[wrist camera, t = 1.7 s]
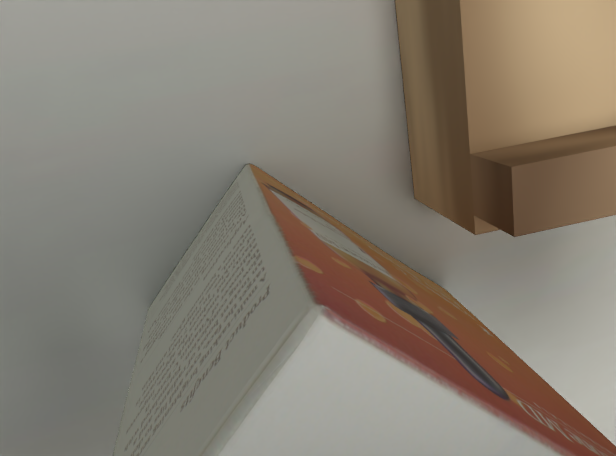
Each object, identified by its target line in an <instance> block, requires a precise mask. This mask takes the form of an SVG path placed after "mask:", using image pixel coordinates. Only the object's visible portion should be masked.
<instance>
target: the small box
mask: <svg viewBox="0 0 616 456" xmlns="http://www.w3.org/2000/svg"><path fill="white" fill-rule="evenodd" d="M113 456H616V446H615V445H613V444H612V443H611V442H610V441H609V440H608V439H607V438H606V437H605V436H604V435H603V434H602V433H601V432H599V431H598V430H597V429H596V428H595V427H594V426H593V425H592V424H591V423H590V422H589V421H588V420H587V419H585V418H584V417H583V416H582V415H581V414H580V413H579V412H578V411H577V410H576V409H575V408H574V407H572V406H571V405H570V404H569V403H568V402H567V401H566V400H565V399H564V398H563V397H562V396H561V395H559V394H558V393H557V392H556V391H555V390H554V389H553V388H552V387H551V386H550V385H549V384H548V383H547V382H546V381H544V380H543V379H542V378H541V377H540V376H539V375H538V374H537V373H536V372H535V371H534V370H532V369H531V368H530V367H529V366H528V365H527V364H526V363H525V362H524V361H523V360H521V359H520V358H519V357H518V356H517V355H516V354H515V353H514V352H513V351H512V350H511V349H510V348H509V347H507V346H506V345H505V344H504V343H503V342H502V341H501V340H500V339H499V338H498V337H497V336H496V335H494V334H493V333H492V332H491V331H490V330H489V329H488V328H487V327H486V326H485V325H483V324H482V323H481V322H480V321H479V320H478V319H477V318H476V317H475V316H474V315H473V314H472V313H471V312H469V311H468V310H467V309H466V308H465V307H464V306H463V305H462V304H461V303H459V302H458V301H457V300H456V299H455V298H454V297H453V296H452V295H451V294H450V293H449V292H448V291H446V290H445V289H444V288H442V287H441V286H439V285H437V284H435V283H434V282H432V281H431V280H429V279H428V278H426V277H424V276H422V275H421V274H419V273H417V272H416V271H414V270H412V269H411V268H409V267H407V266H406V265H404V264H403V263H401V262H399V261H398V260H396V259H395V258H393V257H392V256H390V255H389V254H387V253H385V252H384V251H382V250H381V249H379V248H378V247H376V246H375V245H373V244H372V243H370V242H369V241H367V240H366V239H364V238H363V237H361V236H360V235H358V234H357V233H355V232H354V231H352V230H351V229H349V228H348V227H346V226H345V225H344V224H342V223H341V222H339V221H338V220H336V219H335V218H333V217H332V216H330V215H329V214H327V213H326V212H324V211H323V210H321V209H320V208H318V207H317V206H315V205H314V204H312V203H311V202H309V201H308V200H306V199H305V198H303V197H302V196H300V195H298V194H297V193H295V192H294V191H292V190H291V189H289V188H288V187H286V186H285V185H283V184H282V183H280V182H279V181H277V180H276V179H274V178H273V177H271V176H270V175H268V174H267V173H265V172H264V171H262V170H261V169H259V168H258V167H256V166H254V165H252V164H247V165H245V167H244V168H243V169H242V171H241V172H240V174H239V175H238V176H237V178H236V179H235V181H234V182H233V184H232V185H231V186H230V188H229V189H228V191H227V192H226V194H225V195H224V197H223V198H222V199H221V201H220V202H219V204H218V205H217V207H216V208H215V210H214V211H213V213H212V214H211V216H210V217H209V219H208V220H207V222H206V223H205V225H204V226H203V228H202V229H201V231H200V232H199V234H198V235H197V237H196V238H195V240H194V241H193V243H192V244H191V246H190V247H189V249H188V250H187V251H186V253H185V254H184V256H183V257H182V259H181V260H180V262H179V263H178V265H177V266H176V268H175V269H174V271H173V272H172V274H171V275H170V277H169V278H168V280H167V281H166V283H165V284H164V286H163V287H162V289H161V291H160V292H159V294H158V295H157V297H156V298H155V300H154V302H153V303H152V304H151V306H150V307H149V309H148V312H147V317H146V322H145V326H144V330H143V333H142V337H141V342H140V346H139V350H138V354H137V358H136V362H135V366H134V370H133V374H132V378H131V382H130V386H129V390H128V394H127V398H126V402H125V407H124V411H123V415H122V419H121V423H120V427H119V432H118V436H117V440H116V444H115V448H114V453H113Z"/></svg>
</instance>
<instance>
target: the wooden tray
mask: <svg viewBox="0 0 616 456" xmlns="http://www.w3.org/2000/svg"><path fill="white" fill-rule="evenodd" d="M395 5H396V15H397V25H398V35H399V45H400V56H401V66H402V76H403V86H404V96H405V106H406V116H407V126H408V136H409V146H410V157H411V167H412V177H413V187H414V197H415V199H416V200H418V201H420V202H421V203H423V204H425V205H426V206H428V207H430V208H431V209H433V210H435V211H436V212H438V213H440V214H441V215H443V216H445V217H446V218H448V219H450V220H451V221H453V222H455V223H456V224H458V225H460V226H461V227H463V228H465V229H466V230H468V231H470V232H471V233H473V234H475V235H477V234H482V233H487V232H491V231H496V230H500V229H501V230H502V231H504V232H506V233H508V234H510V235H512V236H514V237H517V236H521V235H526V234H530V233H535V232H539V231H544V230H548V229H553V228H557V227H562V226H567V225H571V224H576V223H580V222H585V221H589V220H594V219H598V218H603V217H608V216H612V215H616V0H395Z"/></svg>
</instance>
